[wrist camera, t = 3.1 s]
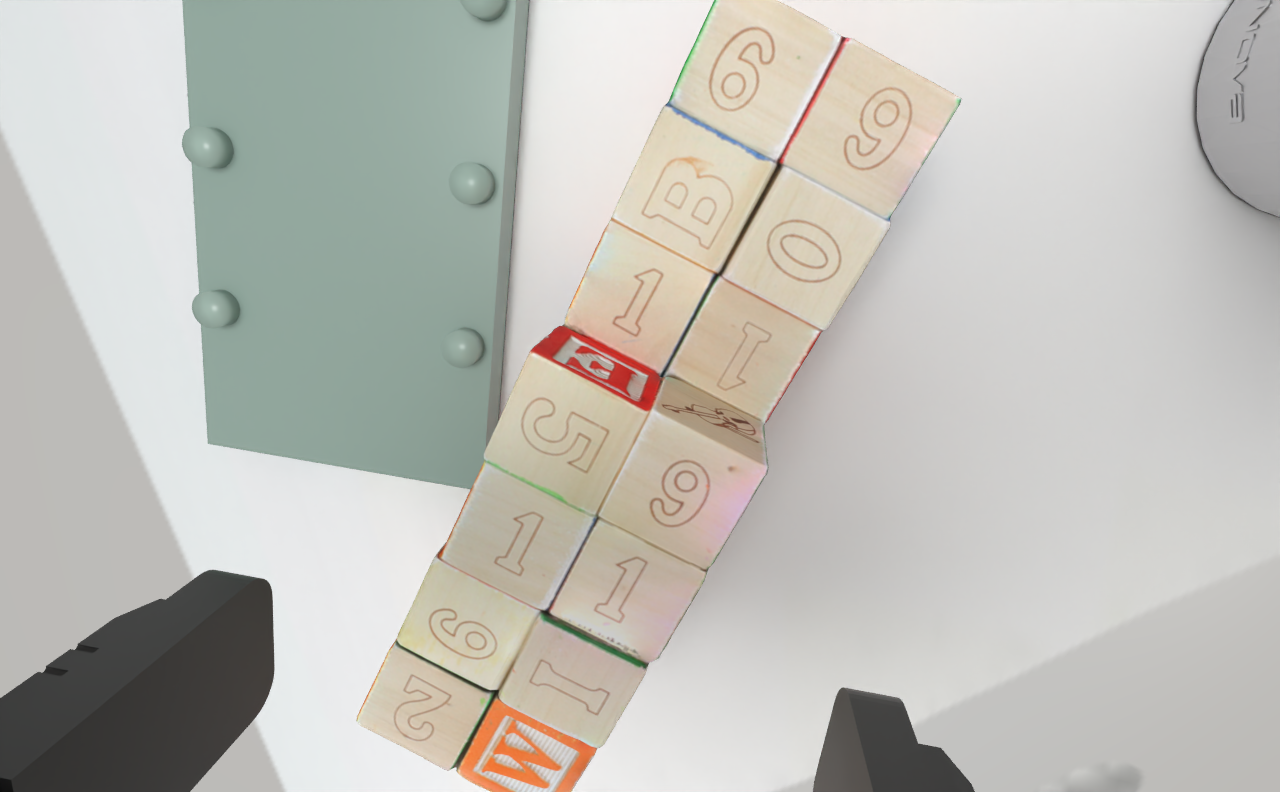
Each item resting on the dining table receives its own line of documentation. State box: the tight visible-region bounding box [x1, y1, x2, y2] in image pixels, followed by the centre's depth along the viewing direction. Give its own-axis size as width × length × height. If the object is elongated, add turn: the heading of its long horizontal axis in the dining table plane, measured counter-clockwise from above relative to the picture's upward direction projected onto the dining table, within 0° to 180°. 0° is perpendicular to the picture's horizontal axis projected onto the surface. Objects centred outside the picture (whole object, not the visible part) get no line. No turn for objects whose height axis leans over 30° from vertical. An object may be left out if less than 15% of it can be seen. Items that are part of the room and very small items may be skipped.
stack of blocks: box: [357, 0, 961, 792], centre depth 22 cm, size 21×6×12 cm, turn 152°
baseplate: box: [182, 0, 529, 489], centre depth 26 cm, size 12×24×2 cm, turn 172°
